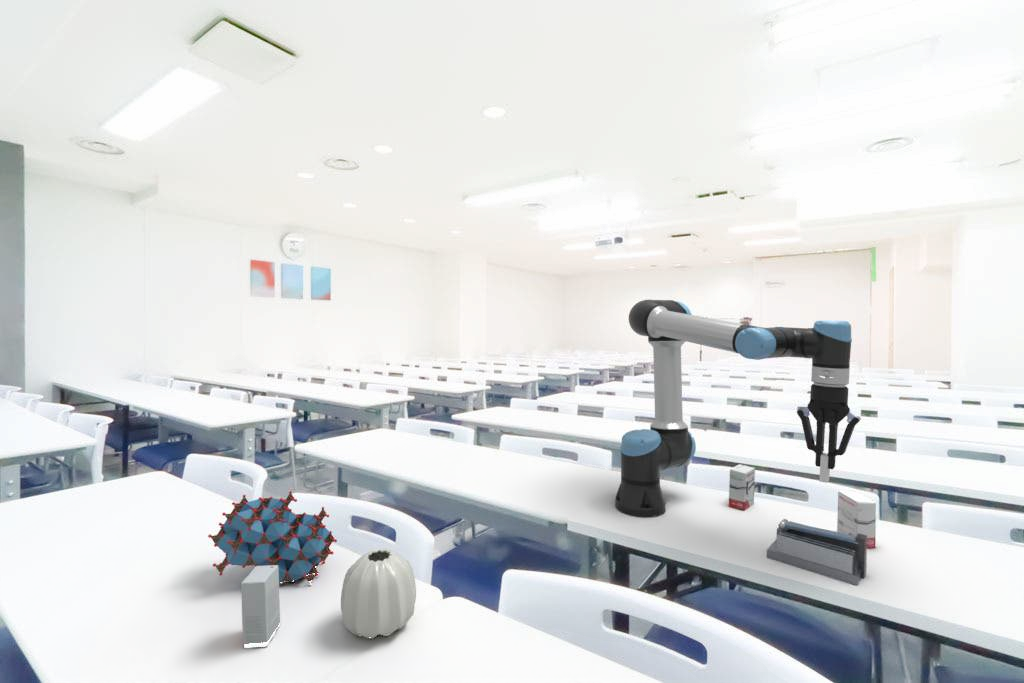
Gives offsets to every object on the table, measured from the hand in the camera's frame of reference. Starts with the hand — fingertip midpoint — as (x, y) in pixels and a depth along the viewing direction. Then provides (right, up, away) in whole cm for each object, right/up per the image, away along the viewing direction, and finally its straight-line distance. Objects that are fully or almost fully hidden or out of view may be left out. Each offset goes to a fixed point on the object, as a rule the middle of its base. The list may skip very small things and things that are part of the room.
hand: (824, 480), depth 115 cm
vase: (-101, -20, -25) cm, 106 cm away
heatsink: (-3, -19, -2) cm, 19 cm away
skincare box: (-122, -20, -29) cm, 127 cm away
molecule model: (-130, -20, -7) cm, 131 cm away
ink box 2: (+14, -19, +9) cm, 25 cm away
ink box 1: (-4, -18, +34) cm, 38 cm away
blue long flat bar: (-3, -12, -2) cm, 13 cm away
